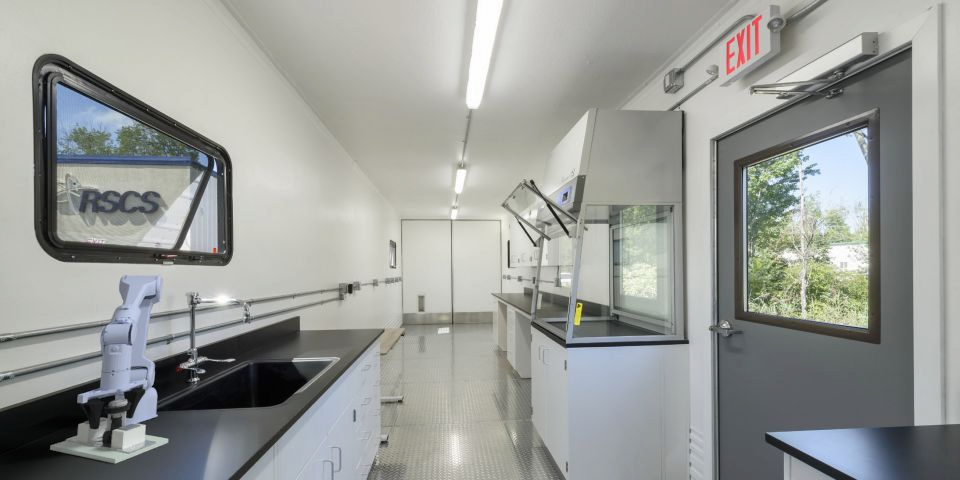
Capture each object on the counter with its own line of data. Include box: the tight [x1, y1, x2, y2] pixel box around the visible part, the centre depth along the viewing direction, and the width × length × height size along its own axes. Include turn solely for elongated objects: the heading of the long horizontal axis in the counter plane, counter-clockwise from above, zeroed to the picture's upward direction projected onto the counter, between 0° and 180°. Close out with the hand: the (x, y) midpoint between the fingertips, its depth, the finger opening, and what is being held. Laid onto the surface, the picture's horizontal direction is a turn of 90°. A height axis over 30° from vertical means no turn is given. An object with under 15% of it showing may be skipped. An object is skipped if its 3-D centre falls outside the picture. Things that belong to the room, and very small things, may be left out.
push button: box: [94, 399, 131, 444], centre depth 103 cm, size 7×5×10 cm
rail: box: [65, 435, 156, 454], centre depth 103 cm, size 6×24×1 cm, turn 73°
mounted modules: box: [76, 417, 147, 449], centre depth 103 cm, size 5×17×4 cm, turn 73°
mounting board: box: [49, 434, 169, 464], centre depth 103 cm, size 12×24×1 cm, turn 73°
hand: (112, 423), depth 103 cm, fingers open, 7 cm apart
